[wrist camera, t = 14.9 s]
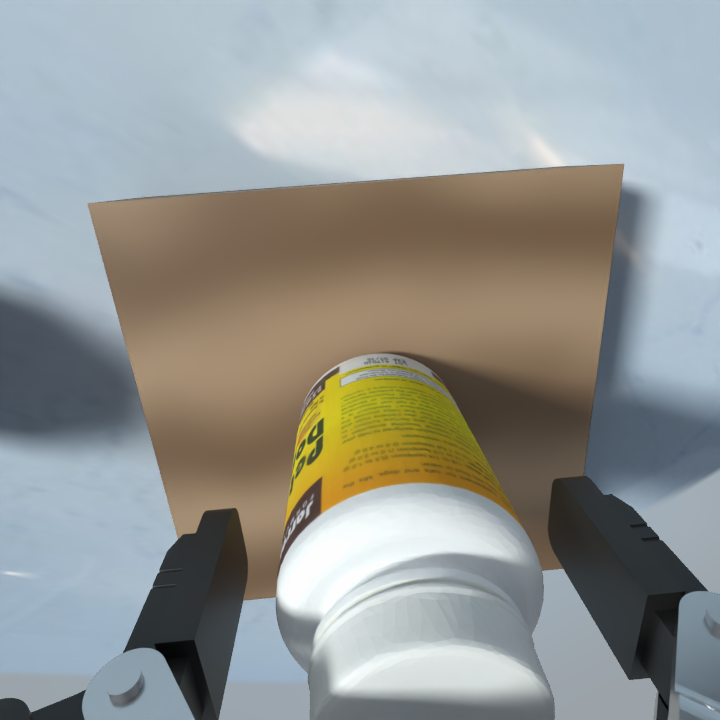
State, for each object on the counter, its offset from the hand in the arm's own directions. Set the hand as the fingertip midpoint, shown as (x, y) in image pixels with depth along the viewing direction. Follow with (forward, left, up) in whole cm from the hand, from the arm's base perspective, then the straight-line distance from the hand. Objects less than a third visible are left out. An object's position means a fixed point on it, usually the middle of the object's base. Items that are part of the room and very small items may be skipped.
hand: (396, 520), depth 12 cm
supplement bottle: (0, 0, -6) cm, 6 cm away
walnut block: (0, 0, -9) cm, 9 cm away
